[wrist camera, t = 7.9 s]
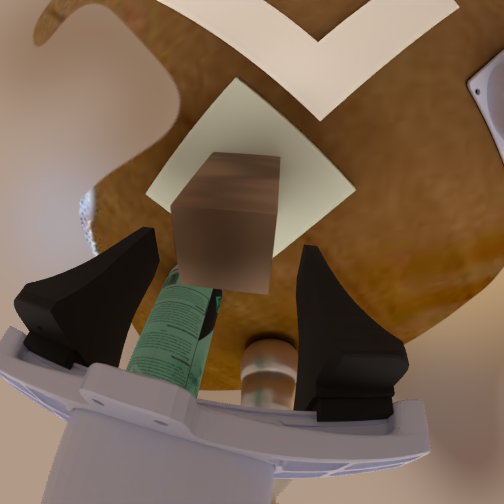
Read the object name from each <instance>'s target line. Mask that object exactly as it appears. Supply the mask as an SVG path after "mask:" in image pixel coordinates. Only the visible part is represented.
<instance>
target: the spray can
mask: <svg viewBox="0 0 504 504" xmlns="http://www.w3.org/2000/svg"><path fill="white" fill-rule="evenodd" d="M222 295H223V290H222V289H214V288H206V287H198V286H191V285H183V284H180V277H179V271H178V265H176V266H175V267H173V269H172V270H171V271H170V273H169V275H168V277H167V279H166V281H165V283H164V285H163V287H162V289H161V292H160V294H159V296H158V298H157V300H156V302H155V304H154V306H153V309H152V311H151V313H150V315H149V317H148V320H147V322H146V324H145V326H144V329H143V331H142V333H141V335H140V338H139V340H138V342H137V345H136V347H135V349H134V352H133V354H132V356H131V359H130V361H129V364H128V366H127V369H126V371H129V372H133V373H136V374H140V375H144V376H148V377H151V378H155V379H159V380H163V381H166V382H169V383H172V384H175V385H178V386H180V387H182V388H184V389H185V390H187V391H189V392H190V393H191V394H192V396H193V397H194V398H197V395H198V391H199V387H200V383H201V379H202V374H203V370H204V366H205V362H206V358H207V354H208V350H209V346H210V342H211V338H212V334H213V330H214V326H215V322H216V318H217V314H218V310H219V306H220V303H221V299H222Z"/></svg>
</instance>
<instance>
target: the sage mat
mask: <svg viewBox="0 0 504 504" xmlns="http://www.w3.org/2000/svg"><path fill="white" fill-rule="evenodd" d="M213 152H225V153H242V154H255V155H267V156H278V157H281V159H280V179H279V197H278V214H277V223H276V232H275V241H274V249H273V257H275V256H276V255H277V254H278V253H280V252H281V251H282V250H283V249H285V248H286V247H287V246H288V245H290V244H291V243H292V242H293V241H295V240H296V239H297V238H298V237H299V236H301V235H302V234H303V233H304V232H306V231H307V230H308V229H309V228H311V227H312V226H313V225H314V224H315V223H317V222H318V221H319V220H320V219H322V218H323V217H324V216H325V215H326V214H328V213H329V212H330V211H331V210H333V209H334V208H335V207H336V206H337V205H339V204H340V203H341V202H342V201H343V200H345V199H346V198H347V197H348V196H349V195H351V194H352V193H353V192H354V191H356V189H355V187H354V186H353V184H352V183H351V182H350V181H349V180H348V179H347V178H346V177H345V176H344V175H343V174H342V172H341V171H340V170H339V169H338V168H337V167H336V166H335V165H334V164H333V163H332V162H331V161H330V160H329V159H328V158H327V157H326V156H325V155H324V154H323V153H322V152H321V151H320V150H319V149H318V148H317V147H316V146H315V145H314V144H313V143H312V142H311V141H310V140H309V139H308V138H307V137H306V136H305V135H304V134H303V133H302V132H301V131H300V130H299V129H298V128H297V127H295V126H294V125H293V124H292V123H291V122H290V121H289V120H288V119H287V118H286V117H284V116H283V115H282V114H281V113H280V112H279V111H278V110H277V109H275V108H274V107H273V106H272V105H271V104H270V103H268V102H267V101H266V100H265V99H264V98H263V97H261V96H260V95H259V94H258V93H257V92H255V91H254V90H253V89H252V88H250V87H249V86H248V85H247V84H245V83H244V82H243V81H242V80H240V79H239V78H238V77H237V78H235V79H234V80H233V81H232V82H231V83H230V84H229V86H228V87H227V88H226V89H225V90H224V91H223V92H222V93H221V95H220V96H219V97H218V98H217V99H216V100H215V101H214V103H213V104H212V105H211V106H210V107H209V109H208V110H207V111H206V112H205V113H204V115H203V116H202V117H201V118H200V120H199V121H198V122H197V123H196V125H195V126H194V127H193V128H192V130H191V131H190V132H189V133H188V135H187V136H186V137H185V139H184V140H183V141H182V143H181V144H180V145H179V147H178V148H177V149H176V151H175V152H174V153H173V155H172V156H171V157H170V159H169V160H168V162H167V163H166V164H165V166H164V167H163V169H162V170H161V172H160V173H159V174H158V176H157V177H156V179H155V180H154V182H153V183H152V185H151V186H150V188H149V189H148V191H147V192H146V195H147V196H149V197H150V198H151V199H153V200H154V201H155V202H157V203H158V204H159V205H160V206H162V207H163V208H164V209H166V210H167V211H168V212H170V213H171V209H170V205H171V204H172V203H173V201H174V200H175V199H176V197H177V196H178V195H179V194H180V192H181V191H182V190H183V188H184V187H185V186H186V185H187V183H188V182H189V181H190V179H191V178H192V177H193V176H194V174H195V173H196V172H197V171H198V170H199V168H200V167H201V166H202V165H203V163H204V162H205V161H206V160H207V159H208V157H209V156H210V155H211V154H212V153H213Z"/></svg>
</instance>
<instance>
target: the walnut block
mask: <svg viewBox="0 0 504 504" xmlns="http://www.w3.org/2000/svg"><path fill="white" fill-rule="evenodd" d="M280 159H281V157H278V156H267V155H255V154H242V153H225V152H213V153H212V154H211V155H210V156H209V157H208V159H207V160H206V161H205V162H204V163H203V165H202V166H201V167H200V168H199V170H198V171H197V172H196V173H195V174H194V176H193V177H192V178H191V179H190V181H189V182H188V183H187V185H186V186H185V187H184V188H183V190H182V191H181V192H180V194H179V195H178V196H177V197H176V199H175V200H174V201H173V203H172V204H171V205H170V209H171V218H172V227H173V235H174V243H175V250H176V257H177V264H178V271H179V277H180V284H183V285H191V286H198V287H206V288H214V289H222V290H230V291H239V292H248V293H257V294H266V295H268V291H269V283H270V275H271V266H272V258H273V249H274V241H275V232H276V223H277V214H278V197H279V179H280Z"/></svg>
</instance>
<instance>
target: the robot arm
mask: <svg viewBox="0 0 504 504" xmlns="http://www.w3.org/2000/svg"><path fill="white" fill-rule="evenodd" d="M467 86H468V89H469V91H470V92H471V94H472V96H473V98H474V99H475V101H476V103H477V105H478V107H479V109H480V111H481V113H482V115H483V117H484V119H485V121H486V123H487V125H488V127H489V129H490V132H491V134H492V136H493V138H494V141H495V143H496V146H497V148H498V150H499V153H500V156H501V158H502V161H503V164H504V49H503V50H502V51H501V52H500V53H499V54H498V55H497V56H496V57H494V58H493V59H492V60H491V61H490V62H489V63H488V64H487V65H485V66H484V67H483V68H482V69H481V70H480V71H479V72H477V73H476V74H475V75H474V76H473V77H472V78H471V79H470V80H469V81H468V83H467ZM476 89H477V94H476V93H475V90H476ZM159 261H160V260H159V255H158V249H157V243H156V237H155V230H154V228H148V227H142V228H141V229H139V230H137V231H135V232H134V233H132V234H131V235H129V236H128V237H126V238H125V239H123V240H122V241H120V242H118V243H117V244H115V245H114V246H112V247H111V248H109V249H108V250H106V251H104V252H103V253H101V254H99V255H98V256H96V257H94V258H93V259H91V260H89V261H87V262H85V263H83V264H81V265H79V266H77V267H75V268H73V269H70V270H68V271H66V272H64V273H61V274H58V275H56V276H53V277H50V278H47V279H43V280H40V281H36V282H32V283H28V284H26V285H25V286H24V288H23V289H22V290H21V292H20V293H19V294H18V296H17V297H16V298H15V300H14V307H15V309H16V312H17V313H18V315H19V317H20V318H21V320H22V321H23V323H24V324H25V325H26V327H27V328H28V330H29V331H30V332H29V334H28V335H27V336H26V335H25V334H24V333H23V332H21V331H19V330H17V329H15V328H13V327H12V326H10V327H9V328H8V330H7V331H6V333H5V334H4V336H3V338H2V339H1V341H0V375H1V376H2V377H3V378H4V379H5V380H6V381H7V382H8V383H9V384H10V385H11V386H12V387H13V388H14V389H16V390H17V391H19V392H20V393H22V394H23V395H25V396H26V397H28V398H29V399H31V400H32V401H34V402H35V403H37V404H39V405H40V406H42V407H43V408H45V409H47V410H48V411H50V412H51V413H53V414H55V415H57V416H58V417H60V418H62V419H63V420H65V421H67V422H68V423H67V426H66V428H65V431H64V433H63V436H62V439H61V441H60V444H59V447H58V450H57V453H56V456H55V459H54V462H53V465H52V468H51V471H50V474H49V477H48V481H47V484H46V488H45V491H44V495H43V499H42V502H41V504H271V496H272V488H273V478H280V479H293V478H319V477H332V476H343V475H351V474H359V473H366V472H373V471H379V470H386V469H391V468H397V467H400V466H403V465H405V464H407V463H409V462H412V461H414V460H416V459H418V458H421V457H422V456H425V455H427V454H429V453H430V452H431V447H430V440H429V432H428V426H427V419H426V414H425V408H424V402H423V399H413V400H403V401H398V402H395V403H392V397H393V396H394V394H395V392H394V385H395V384H396V383H397V382H398V381H399V380H400V379H401V378H402V377H403V375H404V374H405V373H406V371H407V370H408V367H409V362H408V358H407V353H406V350H405V347H404V344H403V342H402V341H401V340H399V339H398V338H396V337H395V336H393V335H392V334H390V333H389V332H388V331H386V330H385V329H384V328H382V327H381V326H380V325H379V324H377V323H376V322H375V321H374V320H373V319H372V318H370V317H369V316H368V315H367V314H366V313H365V312H364V311H363V310H362V309H361V308H360V307H359V306H358V305H357V304H356V303H355V302H354V300H353V299H352V298H351V297H350V296H349V295H348V293H347V292H346V291H345V290H344V288H343V287H342V286H341V284H340V283H339V281H338V280H337V278H336V277H335V275H334V274H333V272H332V271H331V269H330V268H329V266H328V264H327V263H326V261H325V259H324V257H323V256H322V254H321V252H320V250H319V248H318V247H317V246H312V245H304V246H303V251H302V256H301V261H300V266H299V270H298V275H297V285H296V303H297V317H298V331H299V351H298V367H297V380H296V390H295V400H294V408H293V410H279V409H267V408H257V407H249V406H241V405H234V404H226V403H220V402H214V401H208V400H203V399H198V398H194V397H193V396H192V394H191V393H190V392H189V391H187V390H185V389H184V388H182V387H180V386H178V385H175V384H172V383H169V382H166V381H163V380H159V379H155V378H151V377H148V376H144V375H140V374H136V373H133V372H129V371H126V370H123V369H119V368H118V367H119V363H120V359H121V354H122V350H123V347H124V343H125V340H126V337H127V333H128V331H129V328H130V325H131V322H132V319H133V317H134V315H135V312H136V310H137V308H138V306H139V304H140V302H141V301H142V299H143V297H144V295H145V293H146V291H147V289H148V287H149V285H150V283H151V281H152V279H153V278H154V275H155V272H156V270H157V267H158V264H159Z"/></svg>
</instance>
